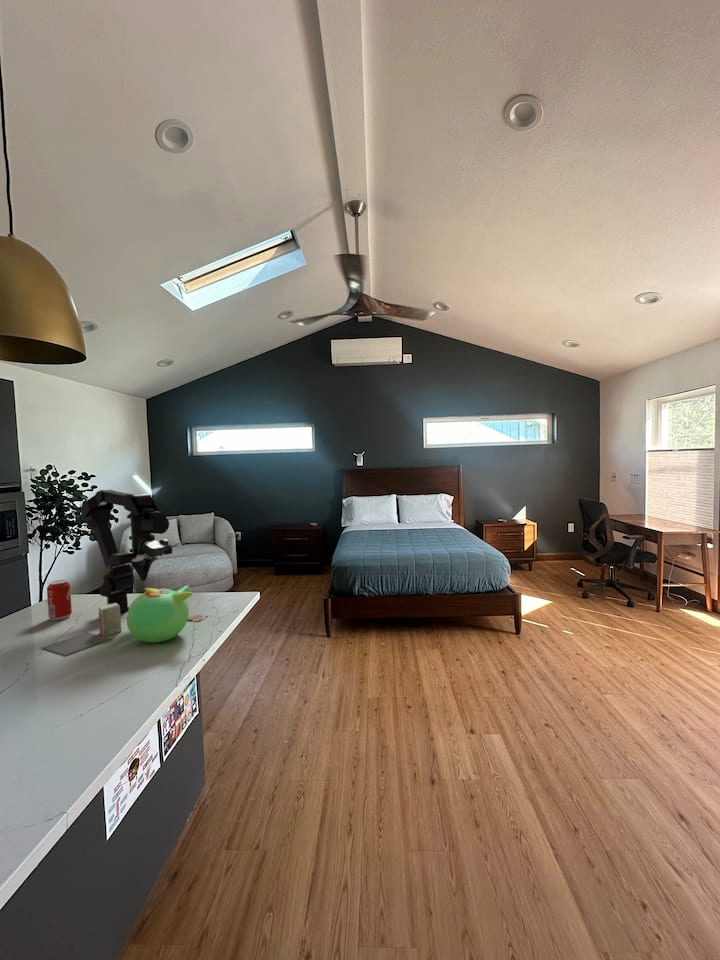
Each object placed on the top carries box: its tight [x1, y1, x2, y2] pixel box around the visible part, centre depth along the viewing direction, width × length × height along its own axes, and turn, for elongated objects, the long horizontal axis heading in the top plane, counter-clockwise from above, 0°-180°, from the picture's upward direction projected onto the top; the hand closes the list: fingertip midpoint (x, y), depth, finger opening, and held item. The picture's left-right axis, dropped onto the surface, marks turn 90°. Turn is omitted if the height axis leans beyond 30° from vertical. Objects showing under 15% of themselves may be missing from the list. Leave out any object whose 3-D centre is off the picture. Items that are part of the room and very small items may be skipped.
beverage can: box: [46, 579, 73, 621], centre depth 145 cm, size 6×6×12 cm
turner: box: [188, 613, 203, 622], centre depth 141 cm, size 14×5×1 cm, turn 76°
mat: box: [41, 631, 112, 657], centre depth 122 cm, size 12×12×1 cm
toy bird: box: [126, 585, 193, 644], centre depth 124 cm, size 18×17×15 cm
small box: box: [98, 603, 122, 637], centre depth 131 cm, size 5×4×8 cm
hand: (143, 580), depth 142 cm, fingers closed
